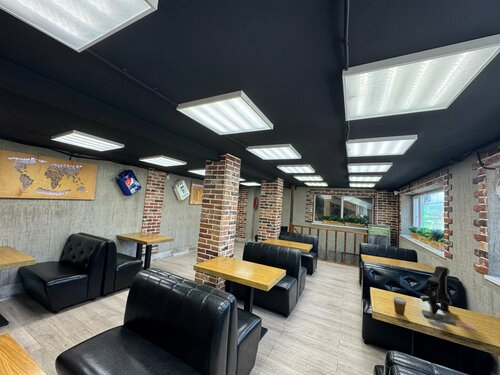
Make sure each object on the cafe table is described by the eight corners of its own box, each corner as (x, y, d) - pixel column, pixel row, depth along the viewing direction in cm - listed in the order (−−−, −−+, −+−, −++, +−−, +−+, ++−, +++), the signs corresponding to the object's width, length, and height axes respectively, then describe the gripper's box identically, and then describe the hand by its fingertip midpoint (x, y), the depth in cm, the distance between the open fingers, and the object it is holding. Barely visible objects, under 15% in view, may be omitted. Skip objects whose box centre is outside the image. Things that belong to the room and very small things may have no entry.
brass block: (429, 315, 179) (429, 305, 180) (435, 316, 177) (435, 307, 178) (430, 317, 176) (430, 307, 176) (437, 318, 174) (436, 309, 174)
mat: (454, 320, 173) (454, 319, 173) (471, 324, 168) (471, 323, 168) (459, 325, 165) (459, 325, 165) (477, 330, 160) (477, 329, 160)
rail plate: (421, 311, 184) (421, 309, 184) (451, 319, 174) (451, 316, 174) (424, 316, 176) (424, 314, 176) (456, 325, 166) (455, 322, 166)
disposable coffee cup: (400, 317, 173) (400, 302, 174) (390, 311, 182) (390, 297, 183) (409, 316, 176) (409, 301, 176) (398, 310, 185) (398, 296, 185)
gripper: (419, 288, 190) (419, 306, 189) (423, 295, 174) (423, 315, 173) (434, 291, 184) (434, 309, 183) (441, 299, 168) (441, 319, 167)
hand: (433, 313), depth 177 cm, fingers closed on brass block, 4 cm apart
